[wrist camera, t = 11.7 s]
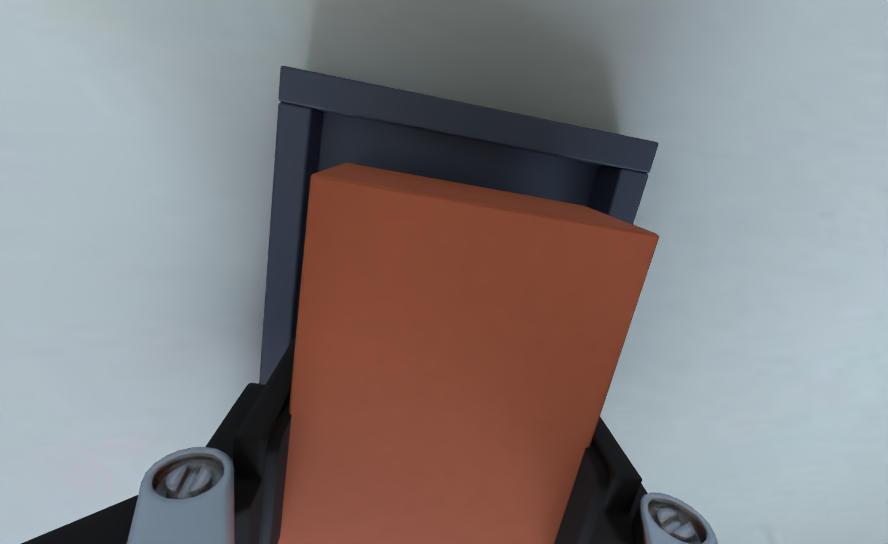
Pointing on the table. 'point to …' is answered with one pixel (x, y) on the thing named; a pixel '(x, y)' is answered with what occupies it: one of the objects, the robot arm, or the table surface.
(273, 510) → the robot arm
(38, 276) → the table surface
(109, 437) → the table surface
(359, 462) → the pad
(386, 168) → the pad frame
